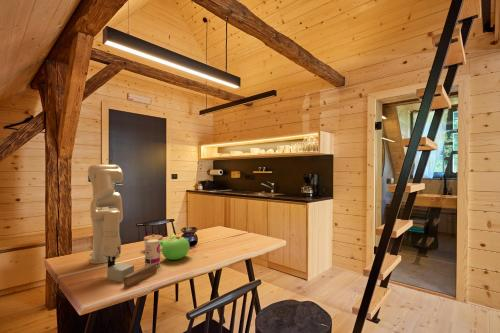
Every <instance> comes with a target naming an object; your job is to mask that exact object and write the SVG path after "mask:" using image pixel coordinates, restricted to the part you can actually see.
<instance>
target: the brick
mask: <svg viewBox="0 0 500 333" xmlns="http://www.w3.org/2000/svg"><path fill="white" fill-rule="evenodd" d="M106 271H107V272H106V276H107V278H106V279H107V280H110V281H115V282H118V283H119V282H120V283H124V276H126V275H129V274H131V273H133V272H135V265H134V264H128V263H124V262H118V263H115V265H113V266H111V267H108V266H107V270H106Z"/></svg>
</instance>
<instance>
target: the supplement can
mask: <svg viewBox="0 0 500 333" xmlns="http://www.w3.org/2000/svg"><path fill="white" fill-rule="evenodd" d="M144 248H145V249H144V251H145V252H144V253H145V254H144V257H145V258H144V260H145V261H144V263H145V265H144V267H145V266H147V265H150V264H152V263H156V268H158V267H159V266H160V265H161V247H160V241H159V240H158V239H151V240H147V242H146V244H145V246H144Z"/></svg>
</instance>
